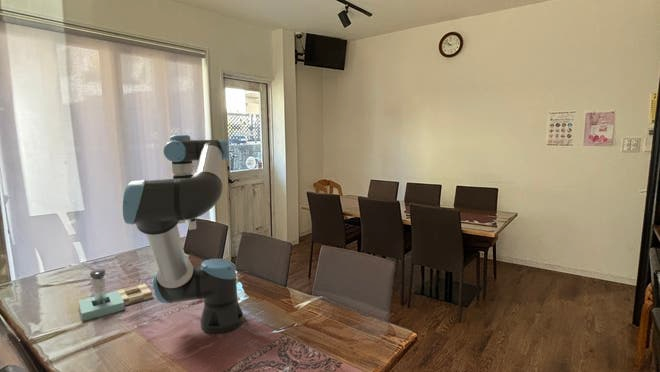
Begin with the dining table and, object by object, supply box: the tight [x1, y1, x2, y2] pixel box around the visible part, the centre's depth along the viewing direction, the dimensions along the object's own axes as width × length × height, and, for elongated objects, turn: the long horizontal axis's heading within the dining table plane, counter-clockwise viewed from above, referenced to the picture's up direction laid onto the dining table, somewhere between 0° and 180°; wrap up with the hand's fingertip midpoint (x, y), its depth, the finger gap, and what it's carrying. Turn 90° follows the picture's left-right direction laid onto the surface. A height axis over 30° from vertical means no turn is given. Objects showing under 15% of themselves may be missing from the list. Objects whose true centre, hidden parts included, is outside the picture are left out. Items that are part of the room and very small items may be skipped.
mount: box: [116, 283, 153, 306], centre depth 154 cm, size 12×12×2 cm
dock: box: [78, 290, 126, 322], centre depth 144 cm, size 14×14×3 cm
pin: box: [89, 269, 107, 306], centre depth 143 cm, size 5×5×15 cm
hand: (187, 226), depth 146 cm, fingers open, 13 cm apart
